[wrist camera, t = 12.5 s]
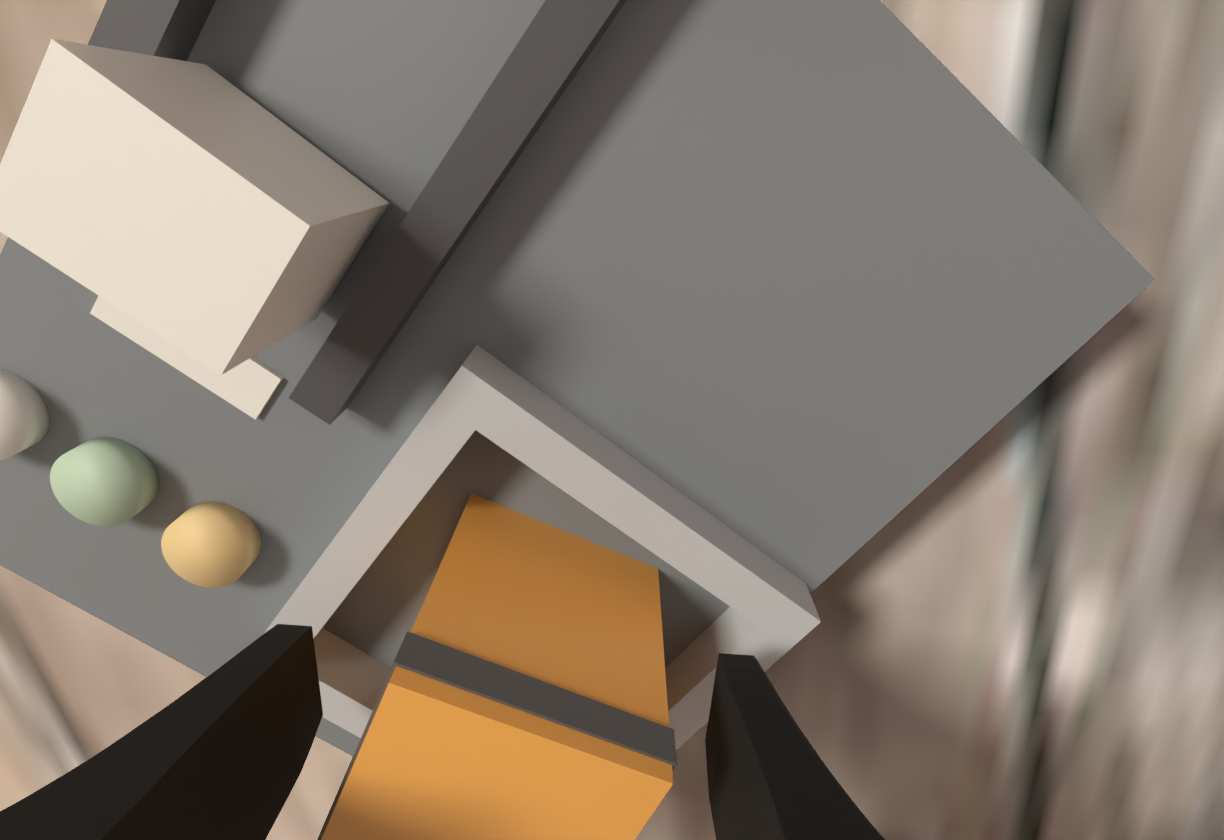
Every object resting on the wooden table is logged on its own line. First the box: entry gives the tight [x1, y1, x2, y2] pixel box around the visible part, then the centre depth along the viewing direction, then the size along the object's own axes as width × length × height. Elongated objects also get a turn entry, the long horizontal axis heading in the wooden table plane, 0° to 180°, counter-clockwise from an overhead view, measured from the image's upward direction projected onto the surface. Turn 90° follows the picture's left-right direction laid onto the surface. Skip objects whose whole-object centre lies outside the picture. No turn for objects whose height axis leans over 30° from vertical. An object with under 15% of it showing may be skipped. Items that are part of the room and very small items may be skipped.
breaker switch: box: [0, 39, 389, 375], centre depth 10 cm, size 3×2×3 cm
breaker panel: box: [0, 0, 1155, 756], centre depth 13 cm, size 16×18×3 cm
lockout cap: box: [318, 493, 677, 840], centre depth 12 cm, size 4×4×5 cm
